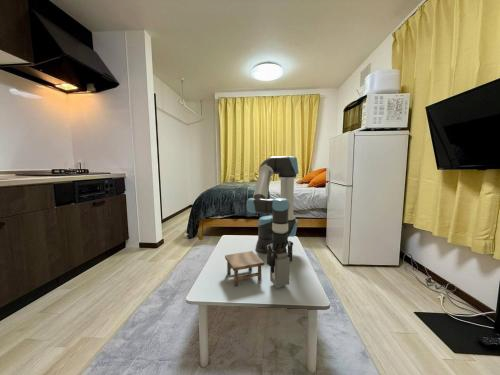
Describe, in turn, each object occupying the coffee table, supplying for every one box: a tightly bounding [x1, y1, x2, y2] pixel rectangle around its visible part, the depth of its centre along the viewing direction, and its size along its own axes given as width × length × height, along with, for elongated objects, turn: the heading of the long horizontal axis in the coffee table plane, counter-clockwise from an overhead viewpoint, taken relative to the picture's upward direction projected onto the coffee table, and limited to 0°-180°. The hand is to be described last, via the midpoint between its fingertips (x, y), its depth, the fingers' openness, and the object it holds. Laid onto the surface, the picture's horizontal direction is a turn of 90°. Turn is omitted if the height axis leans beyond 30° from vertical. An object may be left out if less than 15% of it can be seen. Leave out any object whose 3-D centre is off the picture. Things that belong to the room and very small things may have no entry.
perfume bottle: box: [269, 248, 291, 288], centre depth 106 cm, size 7×7×18 cm
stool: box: [224, 250, 265, 287], centre depth 116 cm, size 16×16×10 cm
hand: (279, 276), depth 107 cm, fingers closed on perfume bottle, 5 cm apart
